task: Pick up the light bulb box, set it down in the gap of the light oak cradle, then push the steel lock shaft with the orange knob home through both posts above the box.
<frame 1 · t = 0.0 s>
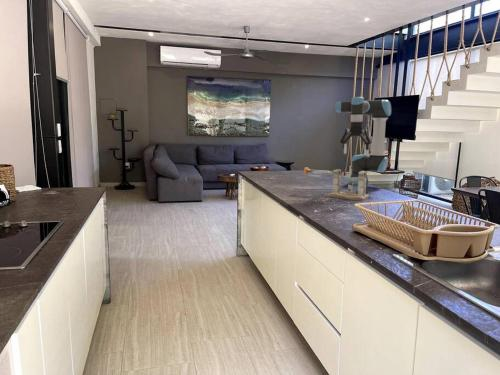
hand: (354, 154, 248), 28 cm above the worktop, tool pointing down, fingers open, 13 cm apart
cradle: (348, 196, 250), on the worktop
lock shaft: (320, 172, 259), point 15 cm above the worktop, slide at 18.0 cm
light bulb box: (356, 193, 263), on the worktop
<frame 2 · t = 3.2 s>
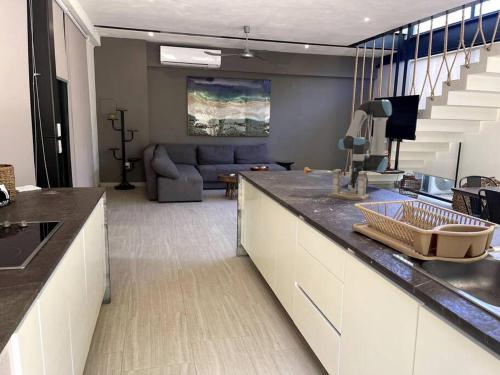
hand: (356, 191, 262), 1 cm above the worktop, tool pointing down, fingers closed on light bulb box, 12 cm apart
light bulb box: (356, 193, 263), on the worktop, touching gripper
everything else where it was.
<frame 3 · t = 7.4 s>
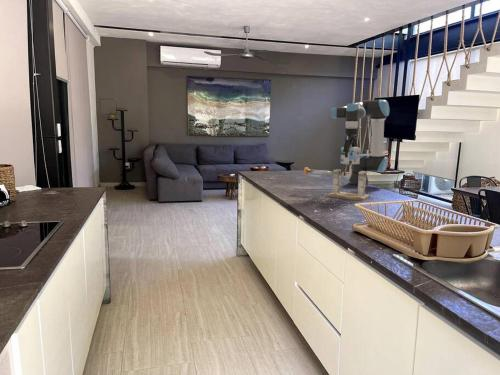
hand: (350, 161, 245), 23 cm above the worktop, tool pointing down, fingers closed on light bulb box, 12 cm apart
light bulb box: (349, 164, 246), point 22 cm above the worktop, touching gripper
everything else where it was.
when the fingers open (4 cm above the worktop, at t = 11.5 s): light bulb box drops 1 cm, resting on cradle.
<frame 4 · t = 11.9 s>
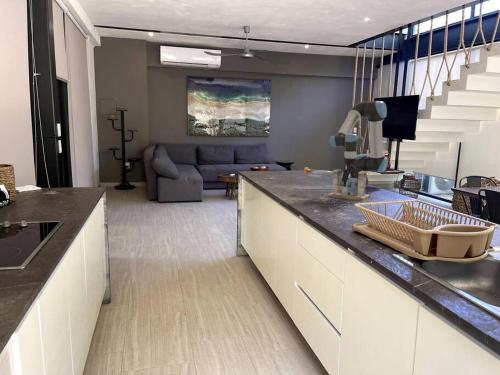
hand: (348, 189, 249), 5 cm above the worktop, tool pointing down, fingers open, 13 cm apart
light bulb box: (348, 194, 250), point 1 cm above the worktop, touching cradle
everything else where it was.
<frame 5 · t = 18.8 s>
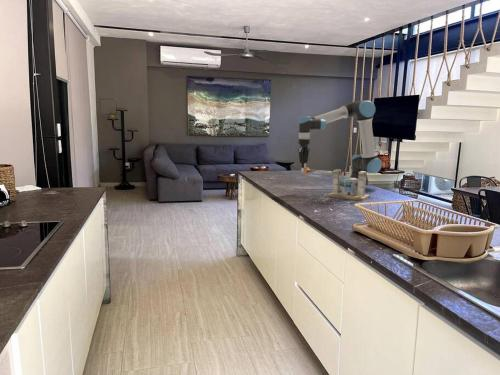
hand: (303, 172, 266), 14 cm above the worktop, tool pointing down, fingers closed
lock shaft: (321, 172, 258), point 15 cm above the worktop, slide at 17.6 cm, touching gripper
everything else where it was.
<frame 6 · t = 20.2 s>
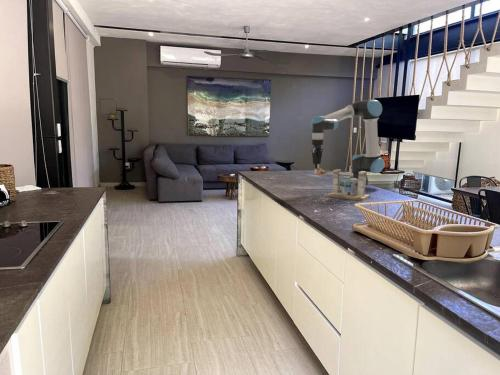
hand: (316, 173, 261), 14 cm above the worktop, tool pointing down, fingers closed
lock shaft: (335, 173, 253), point 15 cm above the worktop, slide at 7.5 cm, touching gripper
everything else where it was.
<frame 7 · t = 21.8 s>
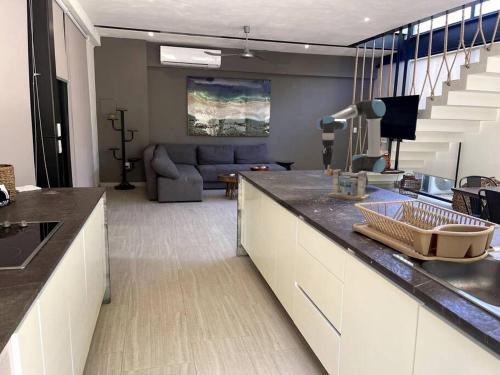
hand: (326, 174, 256), 14 cm above the worktop, tool pointing down, fingers closed
lock shaft: (345, 174, 248), point 15 cm above the worktop, slide at -0.1 cm, touching gripper
everything else where it was.
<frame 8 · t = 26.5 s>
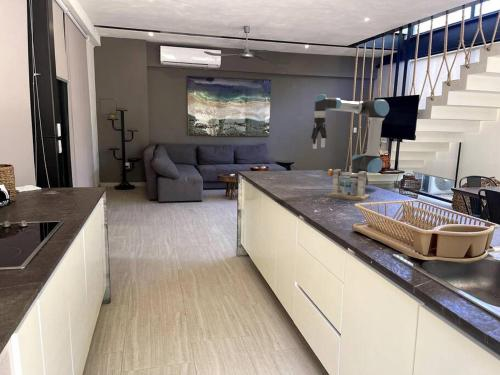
hand: (318, 148, 265), 31 cm above the worktop, tool pointing down, fingers open, 13 cm apart
lock shaft: (345, 174, 248), point 15 cm above the worktop, slide at 0.0 cm
everything else where it was.
at the end: lock shaft slide at 0.0 cm; light bulb box 0.2 cm off-centre on the cradle, point 1.3 cm above the cradle's base; light bulb box tilted 0° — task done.
